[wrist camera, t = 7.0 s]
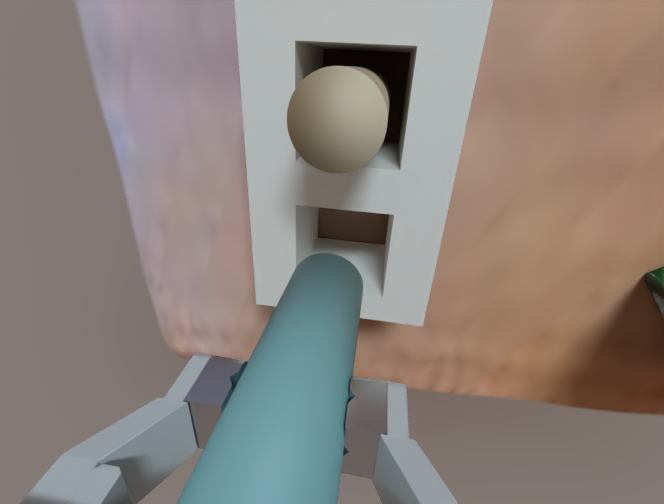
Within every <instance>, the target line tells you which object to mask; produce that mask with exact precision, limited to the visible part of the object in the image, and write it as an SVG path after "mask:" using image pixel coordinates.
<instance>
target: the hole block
mask: <svg viewBox="0 0 664 504" xmlns="http://www.w3.org/2000/svg"><path fill="white" fill-rule="evenodd" d="M492 4H493V0H235V13H236V27H237V41H238V55H239V69H240V83H241V97H242V111H243V125H244V138H245V152H246V166H247V180H248V194H249V208H250V222H251V236H252V250H253V264H254V277H255V291H256V304H260V305H268V306H275V307H276V306H277V304H278V302H279V300H280V298H281V296H282V294H283V292H284V290H285V288H286V286H287V284H288V282H289V280H290V278H291V276H292V274H293V272H294V270H295V269H296V267H297V265H298V264H299V263H300V262H301V261H302V260H304V259H305V258H307V257H309V256H311V255H314V254H318V253H331V254H336V255H339V256H341V257H343V258H345V259H347V260H348V261H350V262H351V263H352V264H353V265H354V266H355V267H356V268H357V269H358V271H359V273H360V275H361V277H362V280H363V296H362V304H361V312H360V318H364V319H371V320H379V321H386V322H394V323H401V324H408V325H416V326H423V323H424V318H425V313H426V309H427V304H428V299H429V295H430V290H431V286H432V281H433V276H434V272H435V267H436V263H437V258H438V253H439V249H440V244H441V239H442V235H443V230H444V226H445V221H446V216H447V212H448V207H449V203H450V198H451V193H452V189H453V184H454V179H455V175H456V170H457V166H458V161H459V156H460V152H461V147H462V142H463V138H464V133H465V129H466V124H467V119H468V115H469V110H470V106H471V101H472V96H473V92H474V87H475V82H476V78H477V73H478V69H479V64H480V59H481V55H482V50H483V45H484V41H485V36H486V32H487V27H488V22H489V18H490V13H491V9H492ZM323 49H344V50H366V51H388V52H410V60H409V67H408V75H407V83H406V90H405V98H404V105H403V113H402V120H401V128H400V136H399V143H386V142H383V143H382V146H381V147H380V149H379V151H378V152H377V154H376V155H375V156H374V157H373V158H372V159H371V160H370V161H369V162H368V163H367V164H365V165H364V166H363V167H361V168H359V169H357V170H354V171H352V172H347V173H340V174H337V173H328V172H324V171H321V170H319V169H316V168H315V167H313V166H311V165H310V164H308V163H307V162H306V161H305V160H304V159H303V158H302V157H301V156H300V155H299V154H298V152H297V151H296V149H295V148H294V146H293V144H292V142H291V139H290V136H289V133H288V128H287V110H288V105H289V102H290V99H291V96H292V94H293V92H294V91H295V89H296V87H297V86H298V85H299V83H300V82H301V81H302V80H303V79H304V78H305V77H306V76H308V75H309V74H311V73H312V72H314V71H316V70H318V69H321V68H323ZM319 207H320V208H330V209H340V210H350V211H360V212H370V213H380V214H389V219H388V227H387V234H386V242H385V245H382V244H373V243H363V242H354V241H345V240H336V239H327V238H318V220H319Z"/></svg>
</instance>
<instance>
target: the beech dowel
mask: <svg viewBox="0 0 664 504" xmlns="http://www.w3.org/2000/svg"><path fill="white" fill-rule="evenodd" d="M389 105H390V89H389V85H388V83H387V81H386V79H385V78H384V76H383V75H382V74H381V73H379V72H378V71H377V70H375V69H372V68H369V67H354V66H329V67H324V68H321V69H318V70H316V71H314V72H312V73H311V74H309V75H308V76H306V77H305V78H304V79H303V80H302V81H301V82H300V83H299V85H298V86H297V87H296V89H295V91H294V92H293V94H292V96H291V99H290V102H289V105H288V110H287V128H288V133H289V136H290V139H291V142H292V144H293V146H294V148H295V149H296V151H297V152H298V154H299V155H300V156H301V157H302V158H303V159H304V160H305V161H306V162H307V163H308V164H310V165H311V166H313V167H315V168H316V169H319V170H321V171H324V172H328V173H337V174H340V173H347V172H352V171H354V170H357V169H359V168H361V167H363V166H364V165H365V164H367V163H368V162H369V161H370V160H371V159H372V158H373V157H374V156H375V155H376V154H377V152H378V151H379V149H380V147H381V146H382V143H383V141H384V138H385V135H386V130H387V123H388V114H389Z"/></svg>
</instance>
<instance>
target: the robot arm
mask: <svg viewBox="0 0 664 504" xmlns="http://www.w3.org/2000/svg"><path fill="white" fill-rule="evenodd" d="M247 363H248V362H247V361H243V360H237V359H231V358H226V357H220V356H213V355H207V354H201V353H197V354H195V355H194V356H193V357H192V358H191V359H190V361H189V362H188V363H187V365H186V367H185V368H184V369H183V371H182V372H181V374H180V375H179V377H178V378H177V380H176V381H175V382H174V384H173V385H172V386H171V388H170V389H169V391H168V392H167V394H166V395H165V397H164V398H157V399H155V400H153V401H151V402H150V403H148V404H146V405H145V406H143V407H141V408H140V409H138V410H136V411H135V412H133V413H131V414H129V415H128V416H126V417H124V418H123V419H121V420H120V421H118V422H116V423H114V424H113V425H111V426H109V427H107V428H106V429H104V430H102V431H101V432H99V433H97V434H96V435H94V436H92V437H91V438H89V439H87V440H85V441H84V442H82V443H80V444H79V445H77V446H76V447H74V448H72V449H70V450H69V451H67V452H65V453H63V454H62V455H61V456H60V458H59V459H58V460H57V461H56V462H55V464H54V465H53V466H52V467H51V468H50V469H49V471H48V472H47V473H46V474H45V475H44V476H43V477H42V478H41V480H40V481H39V482H38V483H37V485H35V487H34V488H33V489H32V490H31V491H30V492H29V494H28V495H27V496H26V497H25V498H24V499H23V501H22V502H21V503H20V504H137V503H138V502H139V501H140V500H142V499H143V498H144V497H145V496H146V495H147V494H148V493H150V492H151V491H152V490H153V489H154V488H155V487H156V486H157V485H158V484H160V483H161V482H162V481H163V480H164V479H165V478H166V477H167V476H169V475H170V474H171V473H172V472H173V471H174V470H175V469H177V467H179V466H180V465H181V464H182V463H183V462H184V461H186V460H187V459H188V458H189V457H190V456H191V455H192V454H193V453H194V452H196V451H197V450H198V448H205V446H206V444H207V442H208V440H209V438H210V436H211V434H212V432H213V430H214V428H215V427H216V425H217V423H218V421H219V419H220V417H221V415H222V413H223V411H224V409H225V407H226V405H227V403H228V401H229V399H230V397H231V395H232V393H233V391H234V389H235V387H236V385H237V383H238V381H239V379H240V377H241V375H242V373H243V371H244V369H245V367H246V365H247ZM341 472H342V473H347V474H352V475H356V476H361V477H366V478H371V479H373V483H374V485H375V488H376V490H377V492H378V494H379V497H380V499H381V501H382V503H383V504H458V503H457V501H456V500H455V498H454V497H453V495H452V494H451V492H450V491H449V489H448V488H447V487H446V485H445V484H444V482H443V481H442V479H441V478H440V476H439V475H438V473H437V472H436V470H435V469H434V467H433V466H432V464H431V463H430V461H429V460H428V459H427V457H426V455H425V454H424V452H423V451H422V449H421V448H420V446H419V445H418V444H417V442H416V441H415V440H413V439H409V425H408V407H407V389H406V385H405V384H403V383H396V382H389V381H387V382H386V381H383V380H375V379H368V378H361V377H353V376H351V383H350V391H349V403H348V406H347V415H346V423H345V432H344V450H343V459H342V467H341Z"/></svg>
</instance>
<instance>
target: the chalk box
mask: <svg viewBox="0 0 664 504" xmlns="http://www.w3.org/2000/svg"><path fill="white" fill-rule="evenodd" d="M645 278H646V283H647V285H648V287H649V289H650V291H651V293H652V296H653V297H654V300H655V301H656V304H657V306H658V308H659V310H660V312H661V314H662V316H663V318H664V267H662V268H660V269H657V270H654V271H652V272H649V273H647V274H645Z"/></svg>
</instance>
